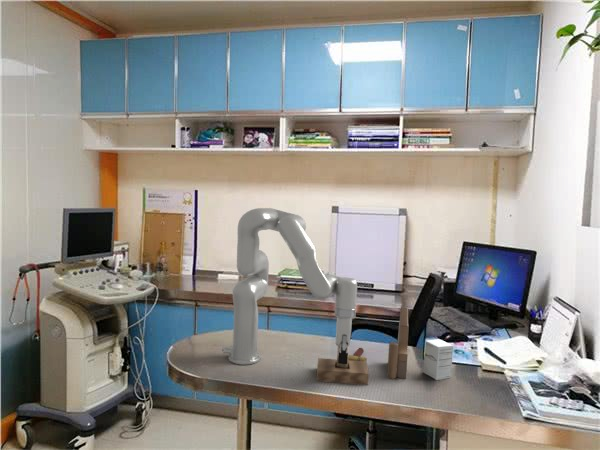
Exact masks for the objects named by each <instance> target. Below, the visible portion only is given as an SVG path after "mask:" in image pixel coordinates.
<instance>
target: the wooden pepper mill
mask: <svg viewBox="0 0 600 450" xmlns="http://www.w3.org/2000/svg"><path fill="white" fill-rule="evenodd" d="M341 344H343V343H341ZM346 344H347V342H346ZM341 347H342V346H341ZM349 349H350V345H349V346H348V353H349ZM339 352H340V345H337V353H336V356H337V357H336V359H337V368H343V369H348V362H347V364H339V363H338V358H339Z"/></svg>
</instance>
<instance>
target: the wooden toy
mask: <svg viewBox="0 0 600 450" xmlns="http://www.w3.org/2000/svg"><path fill="white" fill-rule="evenodd" d="M398 322H399V323H398V335H397V342H394V341H389V343H388V354H387V355H388V356H387V357H388V358H387V378H388V379H396V378H397V379H407V372H408V369H407V368H408V356H409V355H408V342H409V327H410V326H409V308H408V307H407V306H400V313H399V321H398Z"/></svg>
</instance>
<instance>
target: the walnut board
mask: <svg viewBox="0 0 600 450" xmlns="http://www.w3.org/2000/svg"><path fill="white" fill-rule="evenodd" d="M316 369H317V370H316V382H326V383H327V382H328V383H338V384H339V383H340V384H353V385H363V386H364V385H366V386H369V376H370V375H369V369H368V365H367V362H364V361H350V360H348V369H343V368H337V358H336V359H334V358H323V357H321V358H320V357H318V358H317V368H316Z"/></svg>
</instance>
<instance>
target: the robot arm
mask: <svg viewBox="0 0 600 450" xmlns="http://www.w3.org/2000/svg"><path fill="white" fill-rule="evenodd" d="M306 228H307V225H306V221H305V219H304V218H303V217H302V216H300V215H298V214H295V213H290V212H287V211H282V210H279V209H275V208H271V207H269V208H268V207H265V208H264V207H260V208H259V207H258V208H253V209H250V210H248V211H246V212H245V213H243V214H242V216H241V217H240V218H239V220H238V224H237V246H236V269H237V273H239V275H241V276H242V277H246V278H245V279H242V280H240V281H238V282H237V283H236V284H235V286H234V287H233V289H232V303H233V330H232V331H233V333H232V345H230V346H225V345H223V346H222V348H221V351H222V352H223V354H228V359H227V360H228V361H229V362H230V363H232V364H236V365H242V366H243V365H246V366H247V365H252V364H255V363H258V362H259V361H260V360H261V354H260V353H259V352H258V331H259V307H258V300H260V299H262V298H263V297H265V295H266V294H267V292H268V289H269V267H270V266H269V265H270V263H269V259H268V256H267V254H266V253H265V252H264V251H263V250H261V249H260V236H259V232H260V231H267V230H271V231H275V232H279V234H280V237H282V239H283V241H284V243H286V245H287V248H288V249H289V250H290V251H291V253H292V255H293V257H294V259H295V261H296V265H297V268H298V271H299V273H300V277H301V279H302V280H303V282H304V284H305V285H306V287H307V288H308V290H309V291H310V293H311V294H312V295H313V297H315V298H316V299H319V300H326V299H328V298H329V297H331V296H333V295H335V301H334V317H336V323H335V324H336V325H335V326H336V328H335V345H336V346H338V345H340V352H339V358H338V363H339V364H347V362H348V355H349V352H348V346H349V347H350V344H351V338H352V337H351V336H352V324H353V323H352V321H353V319H355V318H356V313H357V311H356V310H357V294H358V282H357V279H355V278H352V277H347V276H346V277H343V276H341V277H340V276H337V275H333V274H324V273H323V272H322V270H321V268H320V266H319V263H318V260H317V249H316V246H315V244H314V242H313V241H312V239H311V238H310V236H309V234H308V233H307V231H306ZM346 342H347V344H346ZM341 343H343V344H341ZM341 346H342V347H341Z"/></svg>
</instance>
